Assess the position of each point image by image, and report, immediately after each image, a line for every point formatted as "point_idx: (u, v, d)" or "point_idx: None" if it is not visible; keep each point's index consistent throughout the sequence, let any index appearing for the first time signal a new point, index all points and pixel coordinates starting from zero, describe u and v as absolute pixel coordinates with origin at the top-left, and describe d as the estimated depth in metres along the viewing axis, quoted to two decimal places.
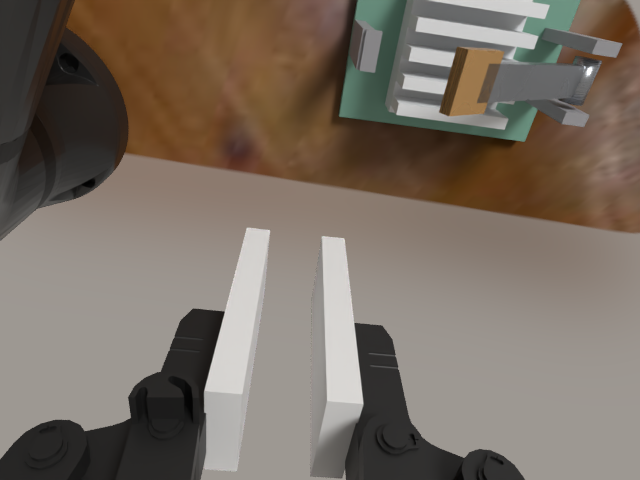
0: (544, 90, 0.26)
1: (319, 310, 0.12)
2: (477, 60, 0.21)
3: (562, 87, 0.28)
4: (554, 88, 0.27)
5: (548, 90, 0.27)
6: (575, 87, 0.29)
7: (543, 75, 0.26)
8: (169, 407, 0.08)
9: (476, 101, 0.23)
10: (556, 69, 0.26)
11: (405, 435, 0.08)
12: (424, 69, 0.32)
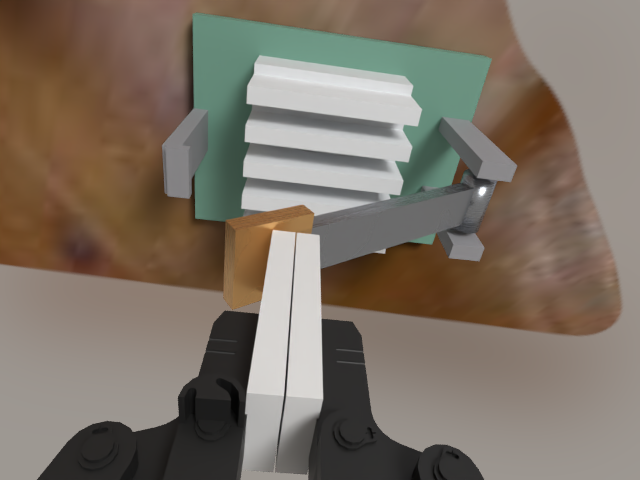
0: (409, 231, 0.19)
1: (290, 306, 0.12)
2: (260, 237, 0.14)
3: (441, 219, 0.20)
4: (427, 224, 0.20)
5: (417, 229, 0.20)
6: (464, 212, 0.21)
7: (401, 217, 0.18)
8: (216, 409, 0.08)
9: None
10: (423, 205, 0.19)
11: (362, 429, 0.08)
12: None
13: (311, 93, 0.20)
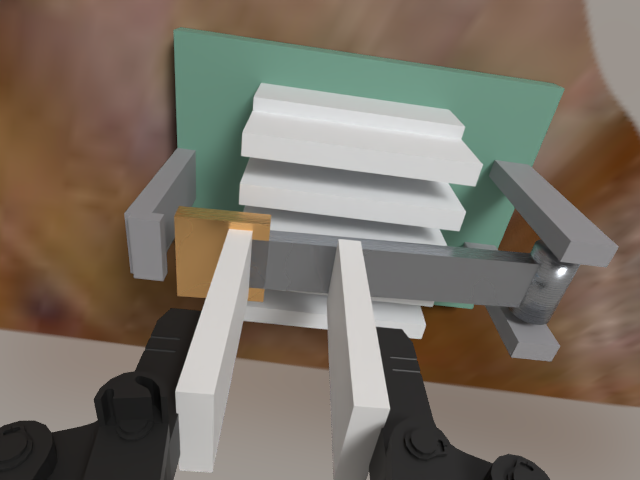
0: (420, 288, 0.16)
1: (338, 313, 0.12)
2: (203, 232, 0.14)
3: (476, 289, 0.16)
4: (450, 288, 0.16)
5: (432, 289, 0.16)
6: (523, 292, 0.16)
7: (404, 266, 0.15)
8: (137, 407, 0.08)
9: None
10: (441, 261, 0.15)
11: (433, 441, 0.08)
12: None
13: (330, 142, 0.14)
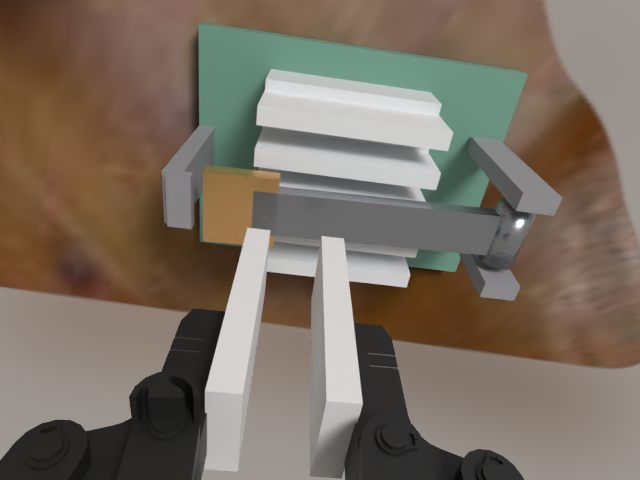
0: (403, 236, 0.19)
1: (319, 310, 0.12)
2: (226, 185, 0.17)
3: (449, 238, 0.19)
4: (428, 237, 0.19)
5: (413, 237, 0.19)
6: (490, 242, 0.19)
7: (389, 217, 0.18)
8: (170, 407, 0.08)
9: None
10: (419, 213, 0.18)
11: (404, 435, 0.08)
12: None
13: (329, 114, 0.18)
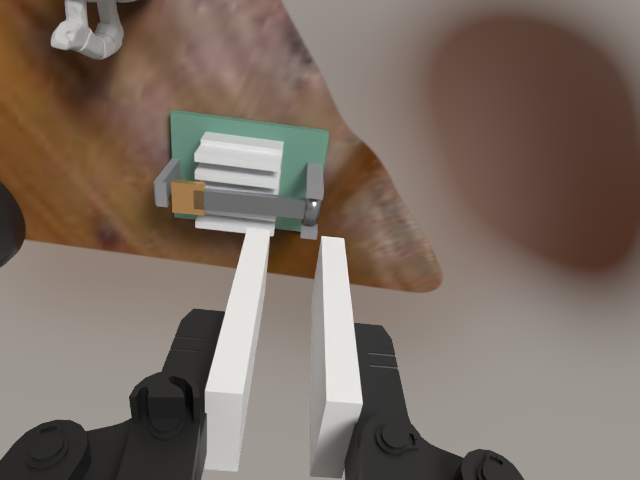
0: (262, 210, 0.42)
1: (319, 310, 0.12)
2: (181, 187, 0.40)
3: (284, 210, 0.42)
4: (274, 210, 0.42)
5: (267, 210, 0.42)
6: (304, 212, 0.43)
7: (255, 201, 0.42)
8: (170, 407, 0.08)
9: (193, 208, 0.42)
10: (268, 199, 0.42)
11: (404, 435, 0.08)
12: None
13: (225, 156, 0.41)
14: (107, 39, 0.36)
